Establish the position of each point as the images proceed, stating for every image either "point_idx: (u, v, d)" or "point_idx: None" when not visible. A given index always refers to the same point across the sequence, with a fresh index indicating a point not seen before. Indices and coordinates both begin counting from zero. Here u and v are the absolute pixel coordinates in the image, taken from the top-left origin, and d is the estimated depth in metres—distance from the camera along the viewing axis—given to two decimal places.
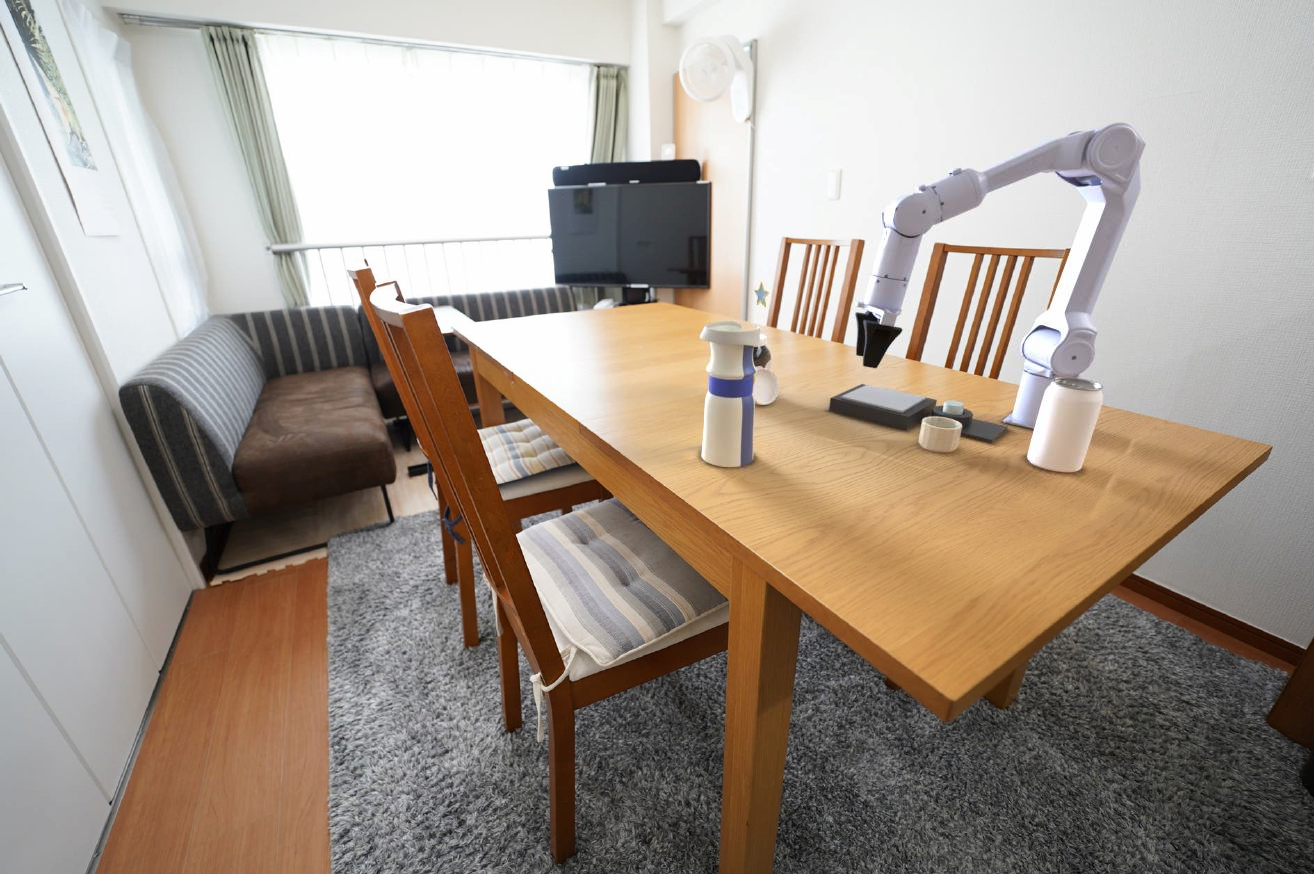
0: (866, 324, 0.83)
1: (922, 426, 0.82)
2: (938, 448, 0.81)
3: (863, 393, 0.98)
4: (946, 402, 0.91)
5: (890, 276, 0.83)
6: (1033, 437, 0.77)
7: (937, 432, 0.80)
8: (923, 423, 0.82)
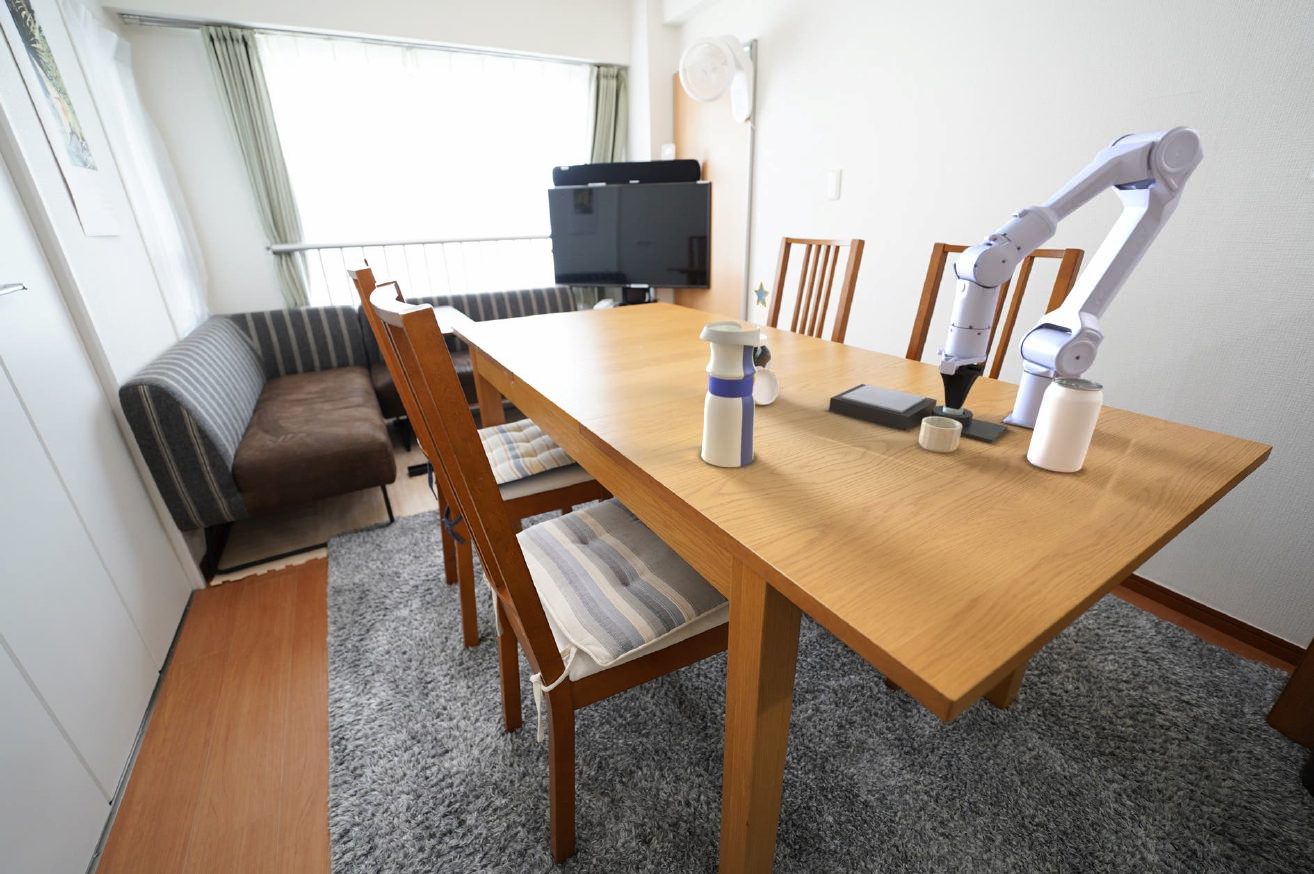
0: (939, 367, 0.88)
1: (922, 426, 0.82)
2: (938, 448, 0.81)
3: (863, 393, 0.98)
4: (945, 406, 0.91)
5: (975, 327, 0.83)
6: (1033, 437, 0.77)
7: (937, 432, 0.80)
8: (923, 423, 0.82)
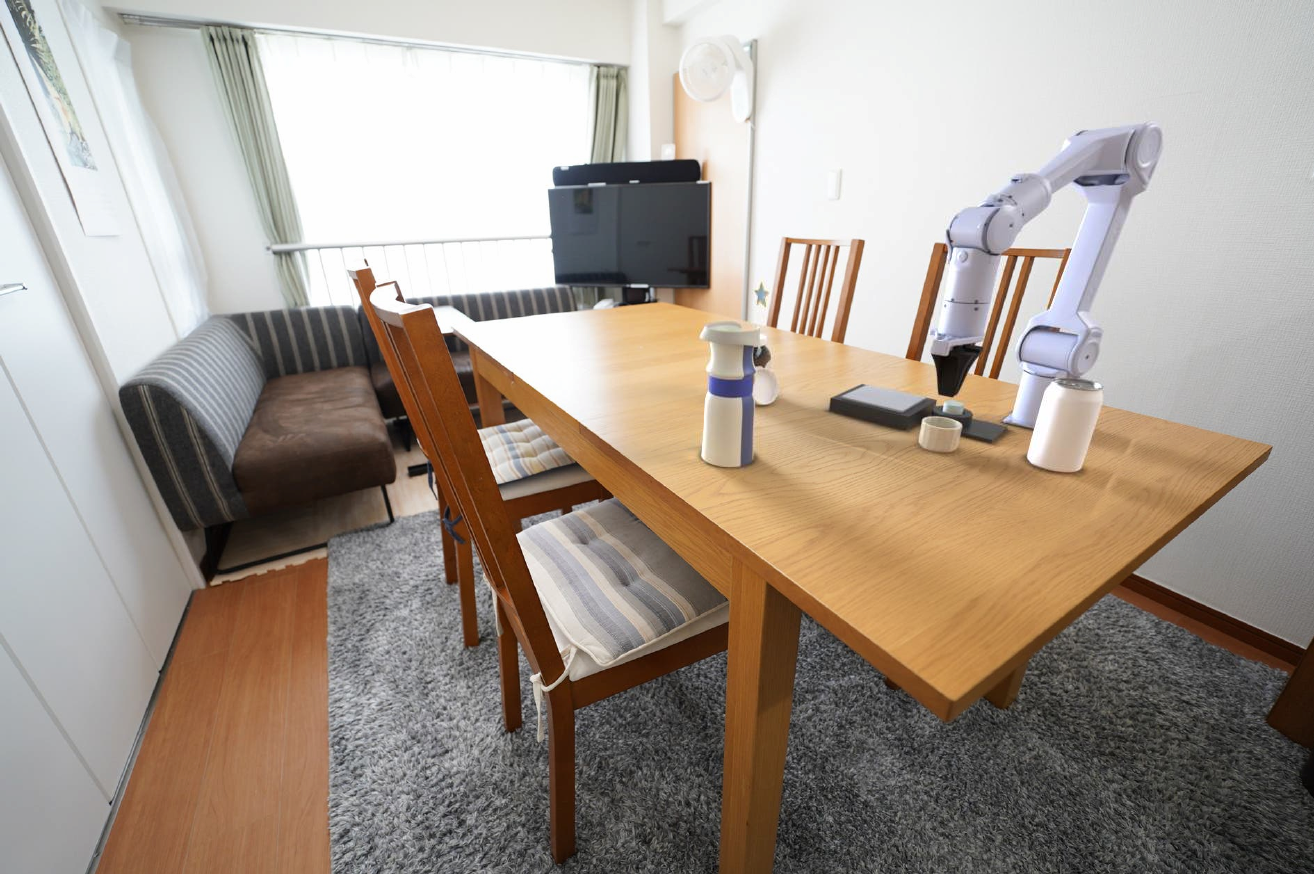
0: (931, 349, 0.78)
1: (922, 426, 0.82)
2: (938, 448, 0.81)
3: (863, 393, 0.98)
4: (946, 402, 0.91)
5: (980, 301, 0.72)
6: (1033, 437, 0.77)
7: (937, 432, 0.80)
8: (923, 423, 0.82)
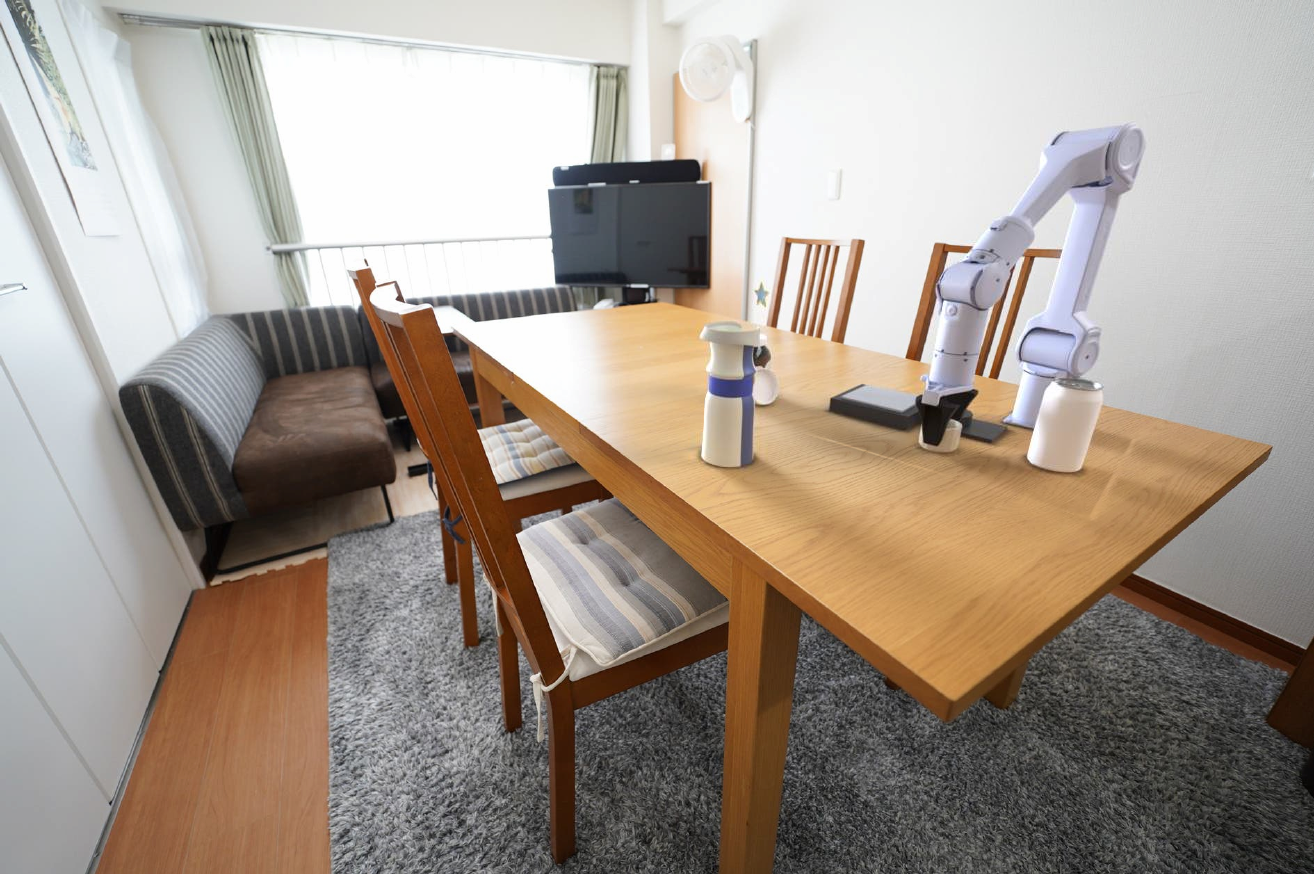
0: (915, 400, 0.79)
1: None
2: (938, 448, 0.81)
3: (863, 393, 0.98)
4: None
5: (969, 353, 0.75)
6: (1033, 437, 0.77)
7: None
8: None
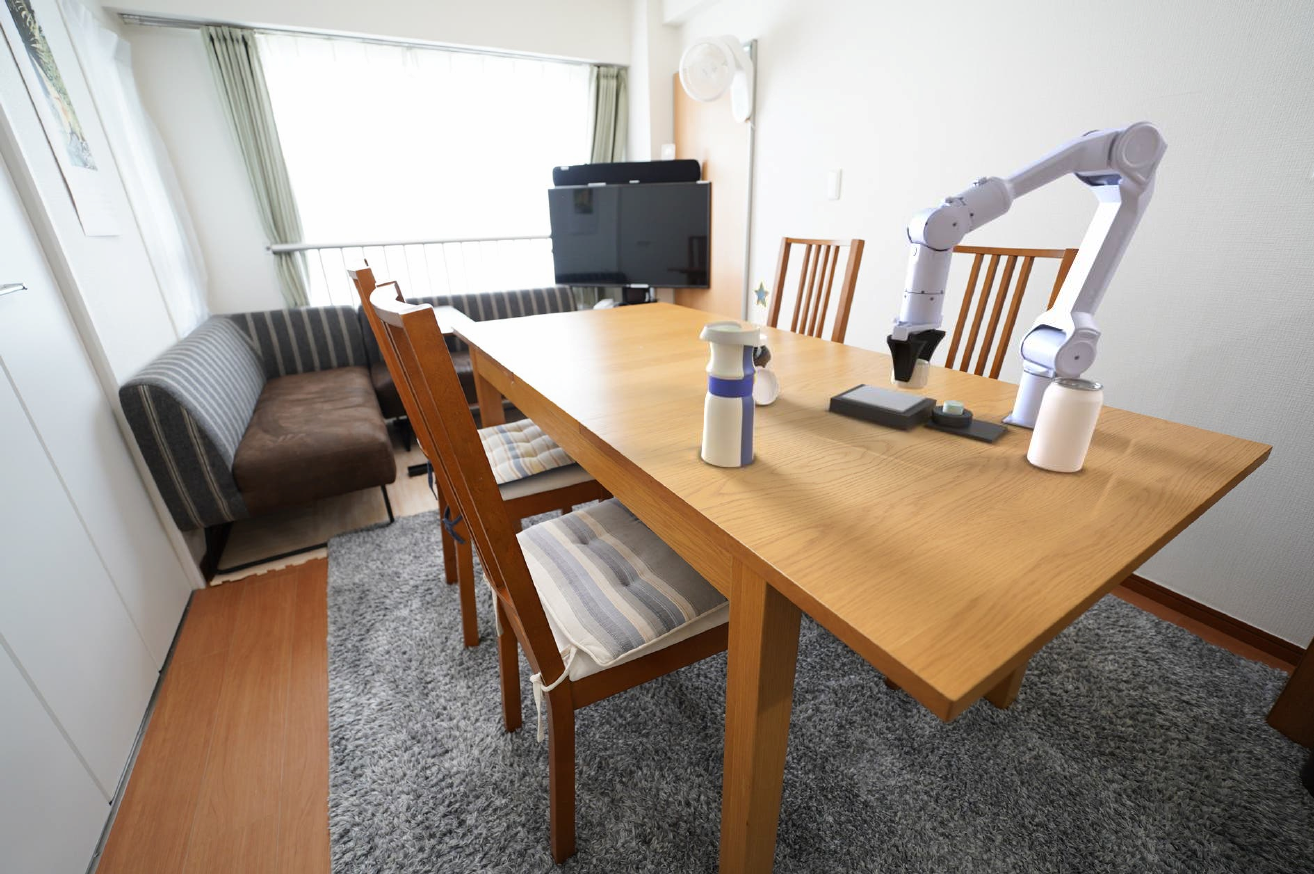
0: (887, 338, 0.85)
1: None
2: (908, 385, 0.87)
3: (863, 393, 0.98)
4: (946, 402, 0.91)
5: (927, 291, 0.81)
6: (1033, 437, 0.77)
7: None
8: None
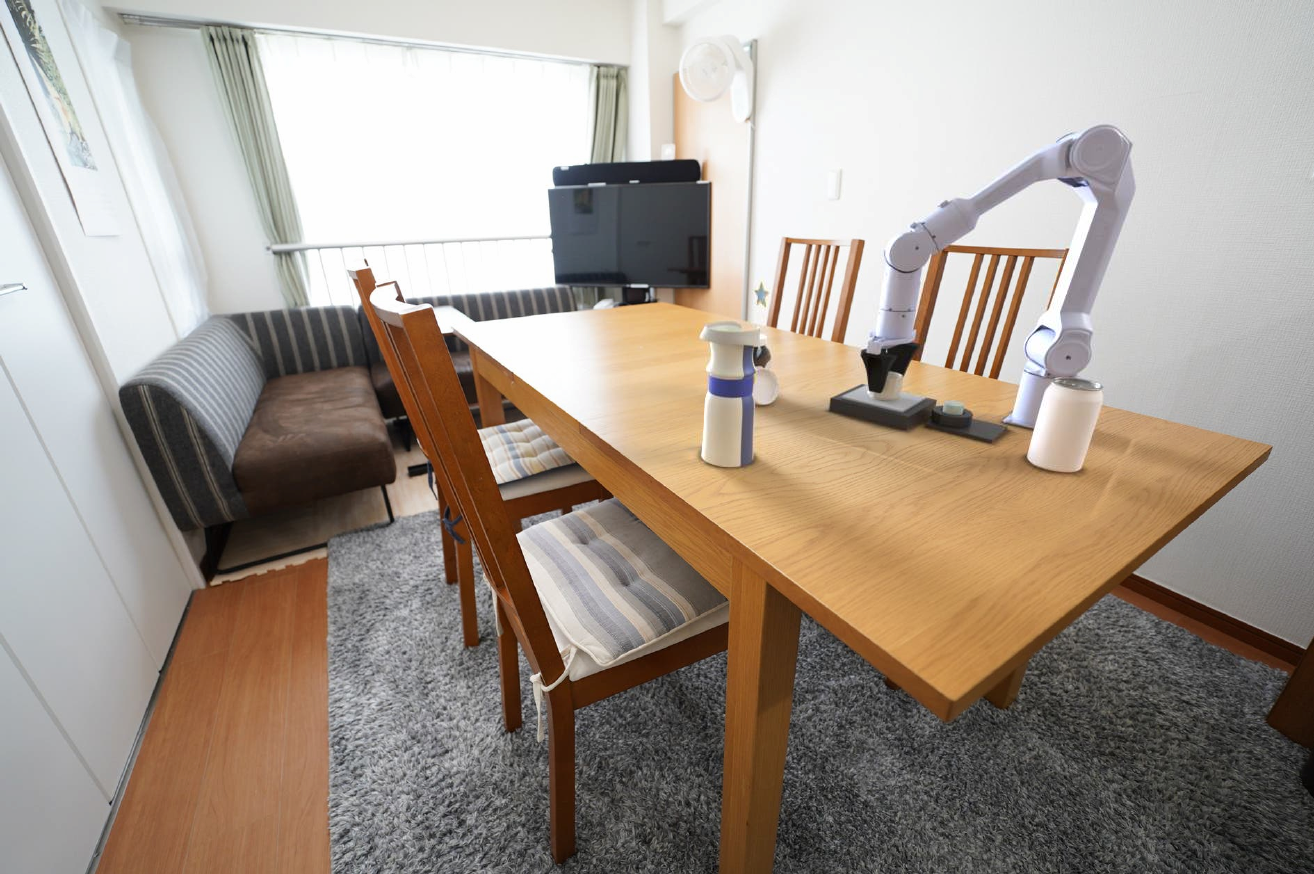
0: None
1: None
2: (883, 396, 0.94)
3: (863, 393, 0.98)
4: (946, 402, 0.91)
5: (894, 309, 0.88)
6: (1033, 437, 0.77)
7: None
8: None
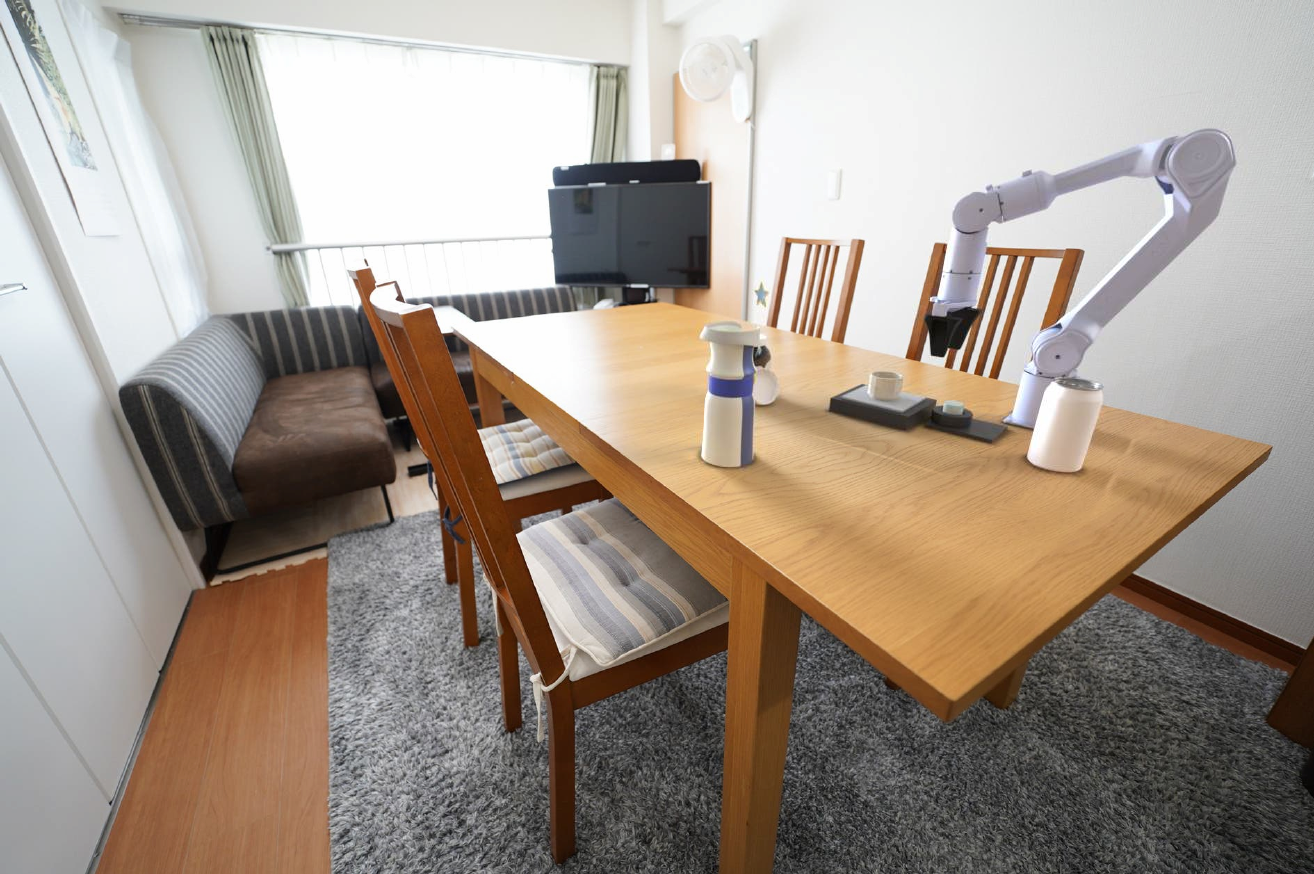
0: (924, 316, 0.91)
1: (870, 378, 0.95)
2: (883, 396, 0.94)
3: (863, 393, 0.98)
4: (946, 402, 0.91)
5: (954, 271, 0.88)
6: (1033, 437, 0.77)
7: (882, 382, 0.93)
8: (870, 375, 0.95)
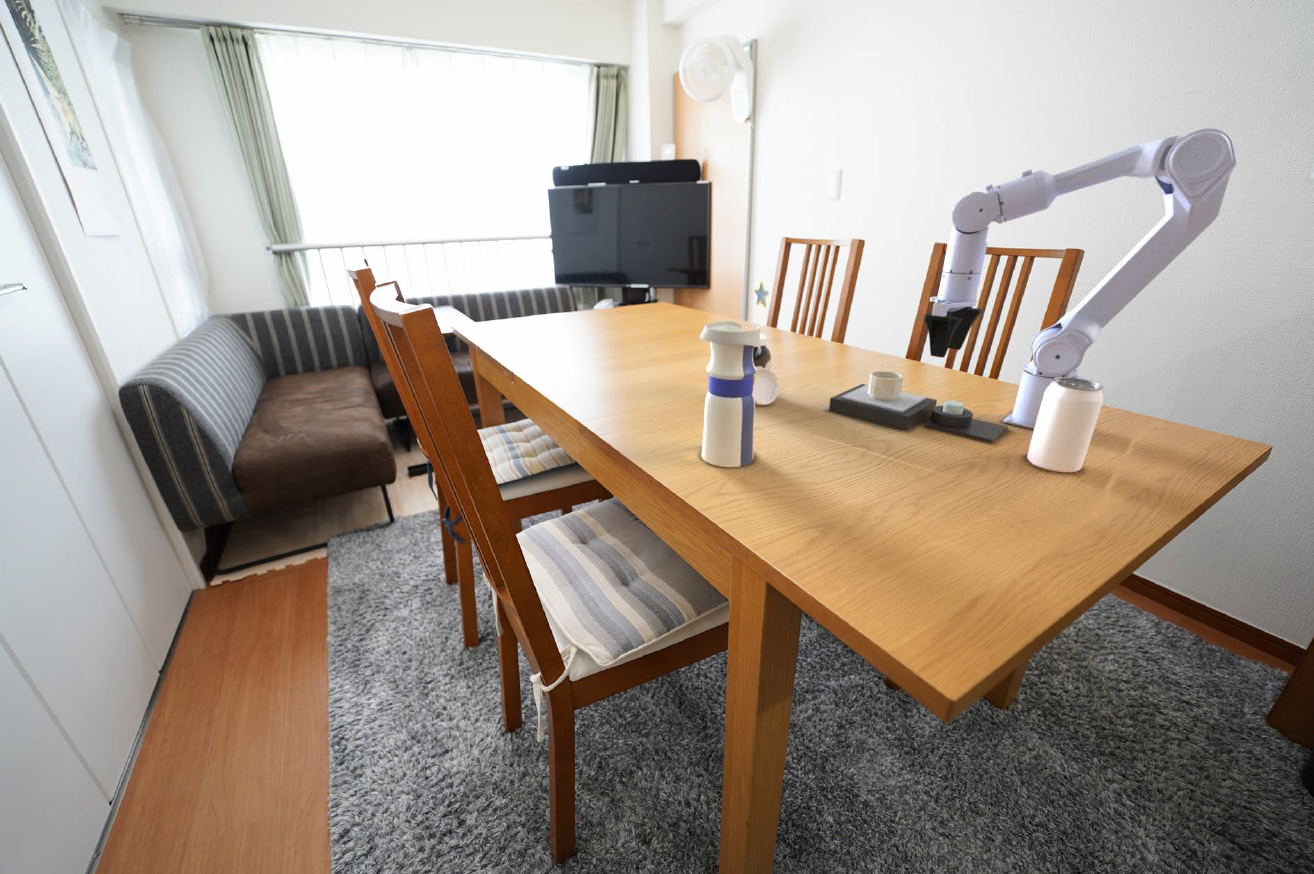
0: (924, 316, 0.91)
1: (870, 378, 0.95)
2: (883, 396, 0.94)
3: (863, 393, 0.98)
4: (946, 402, 0.91)
5: (954, 271, 0.88)
6: (1033, 437, 0.77)
7: (882, 382, 0.93)
8: (870, 375, 0.95)
